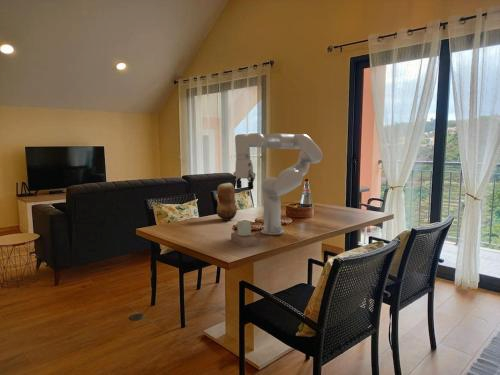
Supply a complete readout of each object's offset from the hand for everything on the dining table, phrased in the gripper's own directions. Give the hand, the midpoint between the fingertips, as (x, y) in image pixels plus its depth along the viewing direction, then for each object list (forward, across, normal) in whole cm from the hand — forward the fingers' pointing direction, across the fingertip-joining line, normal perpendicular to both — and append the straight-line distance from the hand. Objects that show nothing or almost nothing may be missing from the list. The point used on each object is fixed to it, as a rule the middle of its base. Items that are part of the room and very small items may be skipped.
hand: (244, 188), depth 204 cm
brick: (+27, -9, +10) cm, 30 cm away
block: (+22, -9, +10) cm, 26 cm away
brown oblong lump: (+27, +42, -19) cm, 53 cm away
